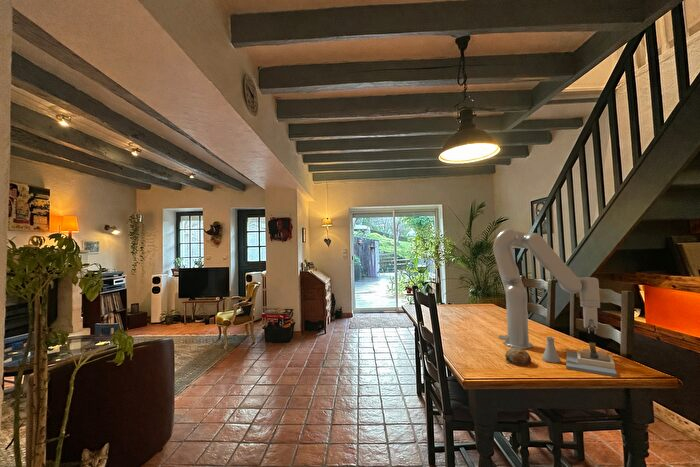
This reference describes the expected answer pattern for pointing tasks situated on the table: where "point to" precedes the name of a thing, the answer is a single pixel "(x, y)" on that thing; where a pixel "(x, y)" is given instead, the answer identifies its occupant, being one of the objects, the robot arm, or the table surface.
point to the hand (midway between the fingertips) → (592, 340)
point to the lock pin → (593, 349)
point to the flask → (551, 352)
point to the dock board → (591, 362)
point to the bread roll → (518, 357)
